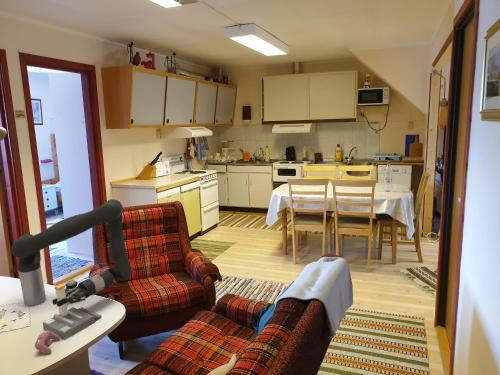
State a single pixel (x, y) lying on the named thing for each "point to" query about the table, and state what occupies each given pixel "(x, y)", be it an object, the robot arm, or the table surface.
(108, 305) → the table surface
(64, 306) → the breaker lever
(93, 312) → the grey long flat bar
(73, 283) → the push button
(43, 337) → the video game controller
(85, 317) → the breaker panel
